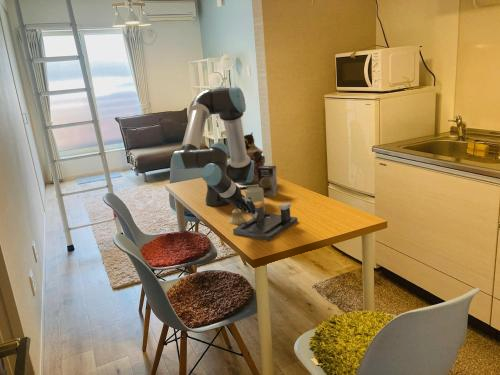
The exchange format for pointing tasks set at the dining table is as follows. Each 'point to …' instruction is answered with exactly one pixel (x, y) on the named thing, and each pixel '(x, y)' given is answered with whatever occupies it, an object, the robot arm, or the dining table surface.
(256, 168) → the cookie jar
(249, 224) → the dark grey stand
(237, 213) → the hand bell
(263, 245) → the dining table surface
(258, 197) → the can
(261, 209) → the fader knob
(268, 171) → the coffee box
